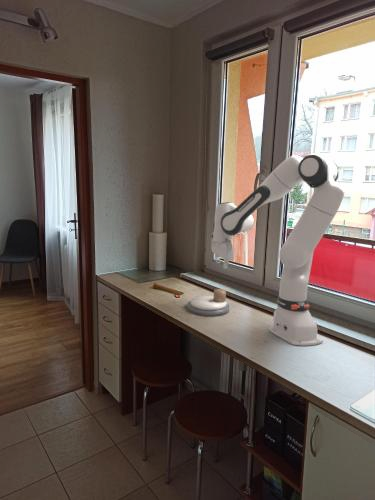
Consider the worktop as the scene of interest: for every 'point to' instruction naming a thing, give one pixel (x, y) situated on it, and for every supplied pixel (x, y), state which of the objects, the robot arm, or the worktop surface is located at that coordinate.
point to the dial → (210, 301)
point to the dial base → (208, 311)
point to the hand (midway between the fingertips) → (221, 265)
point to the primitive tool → (167, 289)
